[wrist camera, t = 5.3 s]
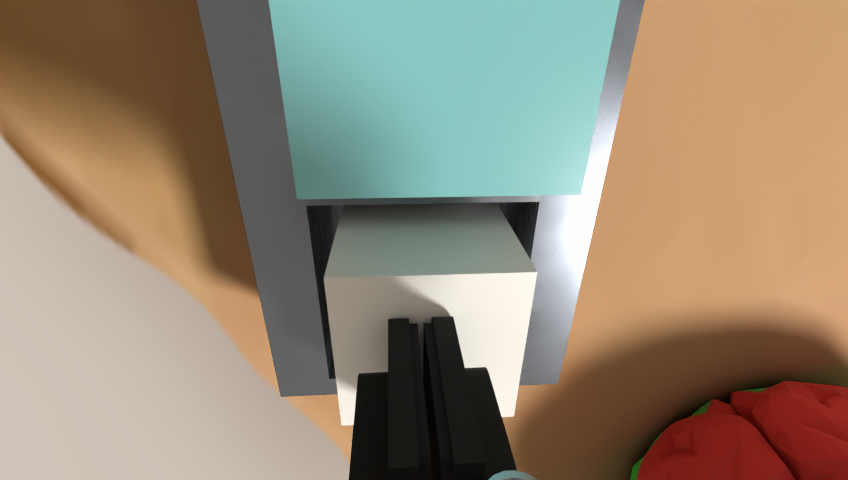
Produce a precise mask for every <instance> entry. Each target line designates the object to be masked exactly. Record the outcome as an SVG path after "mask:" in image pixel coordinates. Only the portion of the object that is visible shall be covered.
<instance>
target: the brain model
mask: <svg viewBox="0 0 848 480" xmlns="http://www.w3.org/2000/svg"><path fill="white" fill-rule="evenodd" d="M630 480H848V388H846V387H842V386H836V385H826V384H816V383H806V382H795V381H783V382H781V383H778V384H776V385H774V386H771V387H767V388H759V389H750V390H742V391H734V392H733V393H731V398H730V404H727V403H724V402H721V401H718V400H716V399H713V400H711V401H709V402H707V403H706V404H704V405H703V406H702V407H701V408H699V409H698V410H697V411H696V412H695V413H693V414H692V415H691V416H690V417H689V418H685V419H682V420H679V421H677V422H675V423H673V424H671V425H669V426H668V427H667V428H666V429H665V430H664V431H663V432H662V433H661V434H660V435H659V436H658V437H657V438H656V439H655V441H654V442H653V444H652V445H651V447H650V448H649V449H648V451H647V452H646V454H645V455H644V457H643V458H642V459H640V460H639V461H638V462H637V463H636V464H635V465H634V466H633V467H632V473H631V479H630Z"/></svg>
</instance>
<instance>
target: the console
mask: <svg viewBox="0 0 848 480" xmlns="http://www.w3.org/2000/svg"><path fill="white" fill-rule="evenodd" d="M196 1H197V6H198V11H199V16H200V20H201V25H202V30H203V34H204V39H205V44H206V48H207V53H208V58H209V62H210V67H211V72H212V76H213V81H214V86H215V90H216V95H217V100H218V105H219V109H220V114H221V119H222V123H223V128H224V133H225V137H226V142H227V147H228V151H229V156H230V161H231V165H232V170H233V175H234V179H235V184H236V189H237V194H238V198H239V203H240V208H241V212H242V217H243V222H244V226H245V231H246V236H247V240H248V245H249V250H250V254H251V259H252V264H253V268H254V273H255V278H256V283H257V287H258V292H259V297H260V301H261V306H262V311H263V315H264V320H265V325H266V329H267V334H268V339H269V343H270V348H271V353H272V357H273V362H274V367H275V372H276V376H277V381H278V386H279V390H280V395H281V397H286V396H307V395H328V394H338V392H337V384H336V375H335V367H334V359H333V351H332V343H331V334H330V326H329V318H328V310H327V302H326V293H325V285H324V275H325V271H326V267H327V264H328V260H329V256H330V252H331V249H332V245H333V241H334V237H335V233H336V230H337V226H338V222H339V218H340V215H341V211H342V207H343V205H375V204H434V203H493V202H497V204H498V205H499V207H500V209H501V211H502V212H503V214H504V216H505V217H506V219H507V221H508V223H509V224H510V226H511V228H512V229H513V231H514V233H515V234H516V236H517V238H518V240H519V241H520V243H521V245H522V246H523V248H524V250H525V252H526V253H527V255H528V257H529V258H530V260H531V262H532V264H533V265H534V267H535V269H536V270H537V278H536V284H535V290H534V296H533V302H532V308H531V314H530V321H529V327H528V333H527V339H526V345H525V351H524V357H523V363H522V369H521V375H520V381H519V385H540V384H558V382H559V378H560V373H561V369H562V364H563V360H564V355H565V351H566V347H567V342H568V338H569V333H570V329H571V324H572V320H573V316H574V311H575V307H576V302H577V298H578V293H579V289H580V285H581V280H582V276H583V271H584V267H585V262H586V258H587V253H588V249H589V245H590V240H591V236H592V231H593V227H594V222H595V218H596V214H597V209H598V205H599V200H600V196H601V191H602V187H603V182H604V178H605V174H606V169H607V165H608V160H609V156H610V151H611V147H612V143H613V138H614V134H615V129H616V125H617V120H618V116H619V111H620V107H621V103H622V98H623V94H624V89H625V85H626V80H627V76H628V72H629V67H630V63H631V58H632V54H633V49H634V45H635V40H636V36H637V32H638V27H639V23H640V18H641V14H642V9H643V5H644V1H645V0H620V3H619V8H618V13H617V18H616V23H615V28H614V33H613V38H612V43H611V48H610V53H609V58H608V63H607V67H606V72H605V77H604V82H603V87H602V92H601V97H600V102H599V107H598V112H597V117H596V122H595V127H594V132H593V137H592V142H591V147H590V152H589V157H588V162H587V167H586V172H585V177H584V182H583V187H582V192H581V195H540V196H477V197H415V198H352V199H297V196H296V189H295V182H294V175H293V168H292V161H291V154H290V147H289V140H288V133H287V126H286V119H285V112H284V105H283V98H282V91H281V84H280V77H279V70H278V63H277V56H276V49H275V42H274V35H273V28H272V21H271V14H270V7H269V0H196Z"/></svg>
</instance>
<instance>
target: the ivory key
mask: <svg viewBox="0 0 848 480" xmlns="http://www.w3.org/2000/svg"><path fill="white" fill-rule="evenodd" d="M536 278H537V270H536V269H535V267H534V265H533V264H532V262H531V260H530V258H529V257H528V255H527V253H526V252H525V250H524V248H523V246H522V245H521V243H520V241H519V240H518V238H517V236H516V234H515V233H514V231H513V229H512V228H511V226H510V224H509V223H508V221H507V219H506V217H505V216H504V214H503V212H502V211H501V209H500V207H499V205H498V204H497V202H493V203H434V204H375V205H343V207H342V211H341V215H340V218H339V222H338V226H337V230H336V233H335V237H334V241H333V245H332V249H331V252H330V256H329V260H328V264H327V267H326V271H325V275H324V285H325V293H326V302H327V310H328V318H329V326H330V334H331V343H332V351H333V359H334V367H335V375H336V384H337V392H338V400H339V408H340V416H341V425H354V414H355V403H356V391H357V380H358V374H359V373H376V372H388V319H397V318H409V324H415V323H417V324H418V333H419V343H420V354H421V364H422V374H423V334H424V323H431V319H432V317H447V316H453V318H454V322H455V326H456V331H457V335H458V340H459V344H460V349H461V353H462V358H463V362H464V367H465V368H477V367H486V368H487V370H488V372H489V375H490V379H491V382H492V386H493V389H494V392H495V396H496V399H497V403H498V406H499V410H500V413H501V417H514V412H515V406H516V400H517V394H518V388H519V381H520V375H521V369H522V363H523V357H524V351H525V345H526V339H527V333H528V327H529V321H530V314H531V308H532V302H533V296H534V290H535V284H536Z"/></svg>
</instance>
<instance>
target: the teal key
mask: <svg viewBox="0 0 848 480" xmlns="http://www.w3.org/2000/svg"><path fill="white" fill-rule="evenodd" d="M619 3H620V0H269V7H270V14H271V21H272V28H273V35H274V42H275V49H276V56H277V63H278V70H279V77H280V84H281V91H282V98H283V105H284V112H285V119H286V126H287V133H288V140H289V147H290V154H291V161H292V168H293V175H294V182H295V189H296V196H297V199H352V198H415V197H477V196H540V195H581V192H582V187H583V182H584V177H585V172H586V167H587V162H588V157H589V152H590V147H591V142H592V137H593V132H594V127H595V122H596V117H597V112H598V107H599V102H600V97H601V92H602V87H603V82H604V77H605V72H606V67H607V63H608V58H609V53H610V48H611V43H612V38H613V33H614V28H615V23H616V18H617V13H618V8H619Z"/></svg>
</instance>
